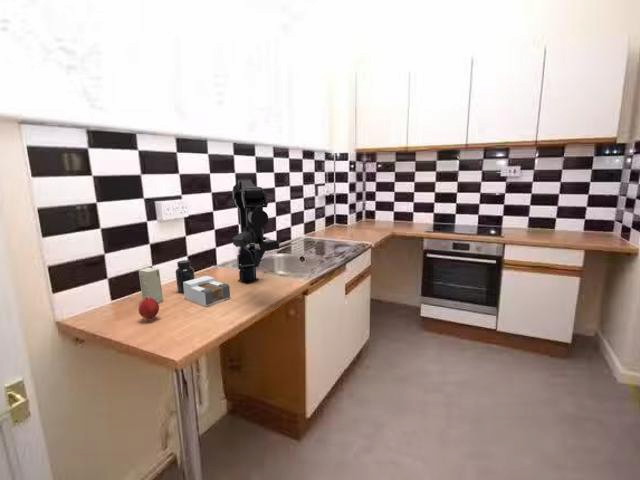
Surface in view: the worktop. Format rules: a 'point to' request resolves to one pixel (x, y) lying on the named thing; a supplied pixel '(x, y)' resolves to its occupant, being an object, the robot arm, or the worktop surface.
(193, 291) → the sleeve
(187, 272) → the supplement bottle
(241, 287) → the worktop surface
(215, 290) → the peg
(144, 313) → the onion
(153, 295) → the skincare box
